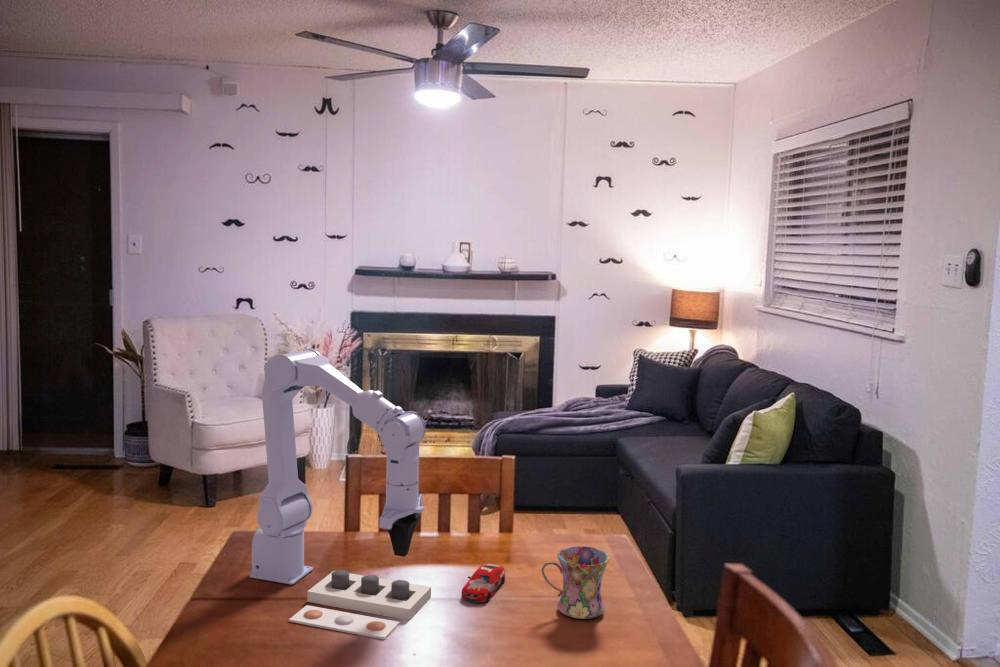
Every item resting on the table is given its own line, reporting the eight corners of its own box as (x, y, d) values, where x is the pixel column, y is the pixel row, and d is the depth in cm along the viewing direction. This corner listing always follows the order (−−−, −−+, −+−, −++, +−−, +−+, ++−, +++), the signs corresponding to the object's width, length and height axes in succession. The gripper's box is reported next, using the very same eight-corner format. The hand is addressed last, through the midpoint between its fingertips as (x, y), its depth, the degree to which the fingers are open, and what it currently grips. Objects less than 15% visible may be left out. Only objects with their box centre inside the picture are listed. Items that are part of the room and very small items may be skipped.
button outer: (388, 599, 159) (388, 585, 158) (395, 592, 162) (395, 579, 162) (404, 601, 158) (405, 588, 158) (411, 594, 161) (412, 581, 161)
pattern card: (288, 621, 152) (288, 618, 152) (306, 607, 158) (306, 603, 158) (384, 639, 147) (384, 636, 147) (399, 624, 153) (399, 620, 152)
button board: (307, 601, 160) (307, 591, 160) (333, 580, 170) (333, 570, 169) (409, 620, 154) (409, 609, 154) (430, 597, 164) (431, 586, 163)
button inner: (328, 588, 162) (328, 575, 162) (336, 581, 165) (336, 569, 165) (344, 591, 161) (344, 578, 161) (352, 584, 164) (352, 571, 164)
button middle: (358, 593, 161) (358, 580, 160) (365, 586, 164) (366, 574, 163) (374, 596, 160) (374, 583, 159) (381, 589, 163) (381, 576, 162)
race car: (484, 608, 161) (485, 587, 160) (456, 602, 163) (457, 582, 162) (509, 580, 173) (510, 561, 172) (484, 575, 175) (484, 556, 174)
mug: (602, 601, 165) (605, 546, 163) (610, 624, 155) (613, 566, 154) (537, 599, 164) (540, 545, 163) (542, 622, 155) (544, 564, 154)
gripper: (406, 496, 149) (405, 573, 151) (438, 473, 163) (436, 543, 165) (368, 490, 151) (367, 566, 153) (402, 468, 165) (401, 538, 167)
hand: (401, 554), depth 159 cm, fingers closed
